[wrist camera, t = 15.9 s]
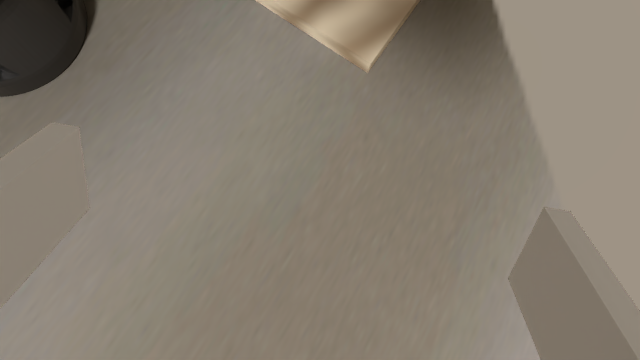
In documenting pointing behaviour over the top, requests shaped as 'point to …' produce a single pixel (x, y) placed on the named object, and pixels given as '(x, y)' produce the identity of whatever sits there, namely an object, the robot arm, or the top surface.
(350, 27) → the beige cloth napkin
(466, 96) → the top surface
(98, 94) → the top surface
